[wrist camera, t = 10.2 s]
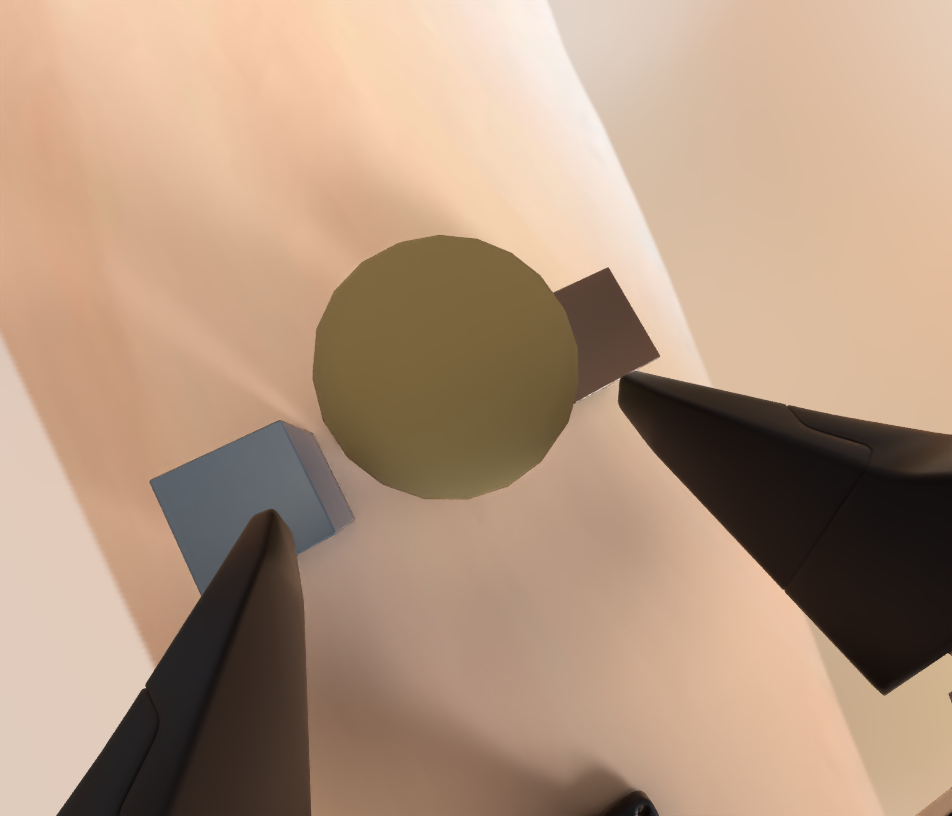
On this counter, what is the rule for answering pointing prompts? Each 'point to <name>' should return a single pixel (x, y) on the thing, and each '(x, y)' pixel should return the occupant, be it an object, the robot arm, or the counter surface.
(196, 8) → the counter surface
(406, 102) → the counter surface
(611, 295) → the walnut block
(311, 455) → the slate block
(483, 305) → the cork
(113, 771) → the robot arm
